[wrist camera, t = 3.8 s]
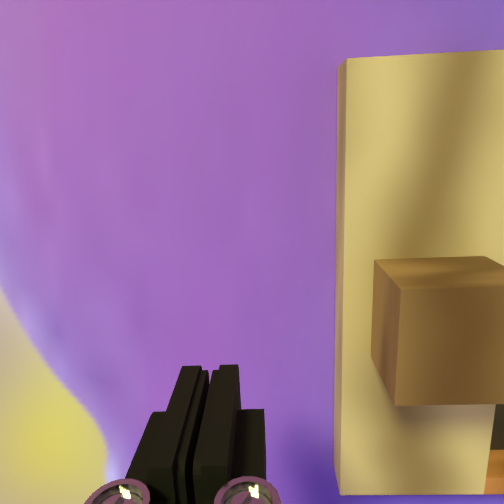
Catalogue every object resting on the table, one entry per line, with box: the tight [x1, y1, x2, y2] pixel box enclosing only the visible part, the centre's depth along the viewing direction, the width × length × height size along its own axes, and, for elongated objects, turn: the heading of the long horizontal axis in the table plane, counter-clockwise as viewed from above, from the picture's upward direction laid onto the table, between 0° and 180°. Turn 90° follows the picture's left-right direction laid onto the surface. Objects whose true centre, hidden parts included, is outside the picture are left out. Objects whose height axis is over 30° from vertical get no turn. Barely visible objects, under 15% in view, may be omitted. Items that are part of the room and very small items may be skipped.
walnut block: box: [371, 256, 504, 406], centre depth 16 cm, size 4×4×4 cm
